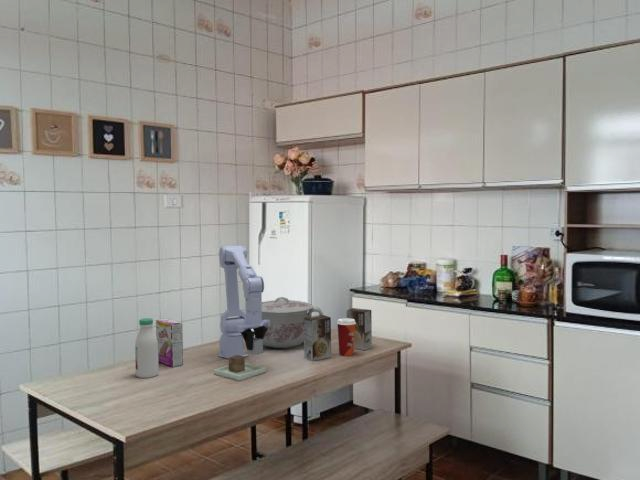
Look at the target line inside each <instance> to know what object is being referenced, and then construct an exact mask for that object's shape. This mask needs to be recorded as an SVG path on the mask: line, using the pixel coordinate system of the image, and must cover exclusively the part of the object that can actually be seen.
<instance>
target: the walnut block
mask: <svg viewBox="0 0 640 480" xmlns="http://www.w3.org/2000/svg"><path fill="white" fill-rule="evenodd" d="M245 358H246V357H244V356H240V355H235V356H231V357H229V359H228V365H229V371H231V372H235V373H238V372H241V371H244V370H245V363H246V362H245V361H246V360H245Z"/></svg>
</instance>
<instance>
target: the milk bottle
mask: <svg viewBox="0 0 640 480" xmlns="http://www.w3.org/2000/svg"><path fill="white" fill-rule="evenodd" d="M138 322H139V323H138V325H139V331H138V334H137V336H136V339H135V348H134V349H135V351H134V352H135V376H136V377H137V378H143V379H145V378H147V379H148V378H153V377H156V376H158V375H159V370H160V369H159V367H160V366H159V362H158V341H157V337H156V333H155V332H154V327H153V325H154V319H153V318H149V317H147V318H140V319H139V320H138Z"/></svg>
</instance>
